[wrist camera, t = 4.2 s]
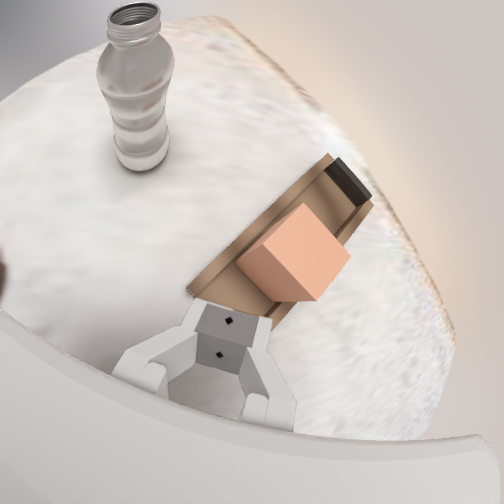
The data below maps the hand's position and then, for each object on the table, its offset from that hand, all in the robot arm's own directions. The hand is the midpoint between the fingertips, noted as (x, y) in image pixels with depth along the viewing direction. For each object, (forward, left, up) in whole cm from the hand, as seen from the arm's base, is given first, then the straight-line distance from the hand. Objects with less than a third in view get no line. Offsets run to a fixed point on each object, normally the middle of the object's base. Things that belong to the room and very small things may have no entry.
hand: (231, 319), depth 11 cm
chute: (+13, -2, -20) cm, 24 cm away
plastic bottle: (+8, +18, -20) cm, 28 cm away
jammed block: (+9, -2, -19) cm, 21 cm away
